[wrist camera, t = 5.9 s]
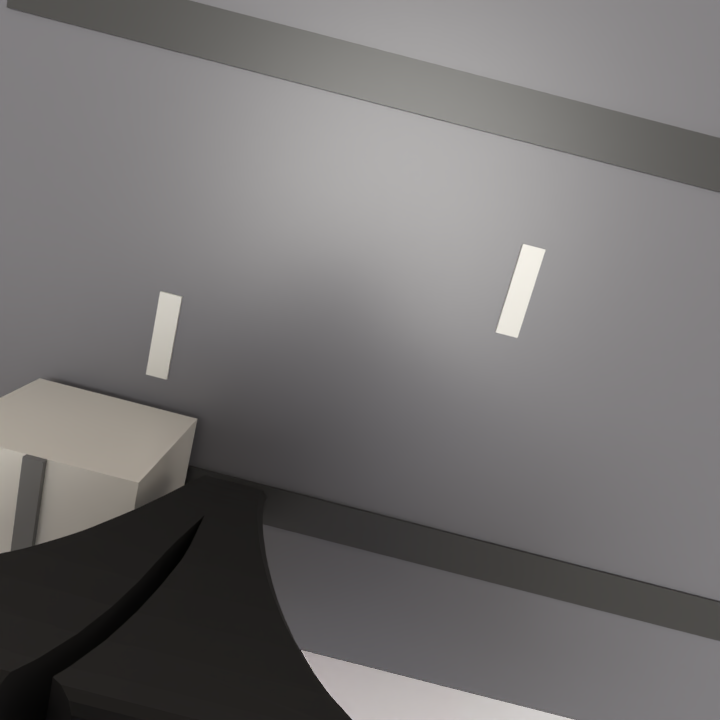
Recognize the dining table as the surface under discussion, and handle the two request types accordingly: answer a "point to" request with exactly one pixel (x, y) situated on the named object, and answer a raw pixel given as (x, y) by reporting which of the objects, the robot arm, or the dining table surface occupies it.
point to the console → (404, 310)
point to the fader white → (82, 460)
